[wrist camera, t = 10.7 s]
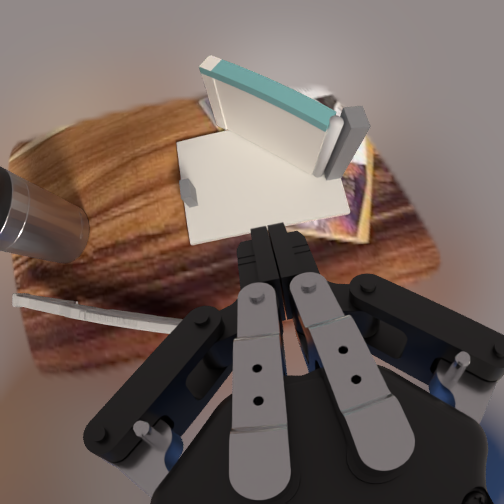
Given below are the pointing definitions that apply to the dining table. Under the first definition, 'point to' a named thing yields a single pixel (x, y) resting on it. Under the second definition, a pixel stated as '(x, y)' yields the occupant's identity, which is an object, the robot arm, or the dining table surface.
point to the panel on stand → (260, 183)
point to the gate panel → (271, 115)
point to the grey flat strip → (96, 313)
